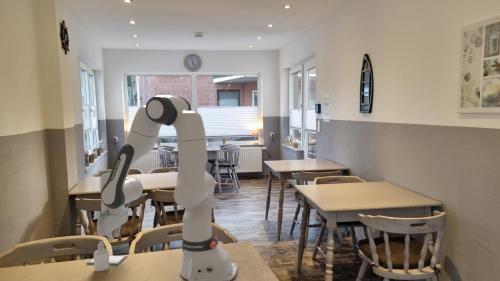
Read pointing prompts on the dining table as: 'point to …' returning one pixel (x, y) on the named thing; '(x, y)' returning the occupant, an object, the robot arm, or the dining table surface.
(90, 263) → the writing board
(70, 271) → the dining table surface
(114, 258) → the paper
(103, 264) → the eye dropper bottle
